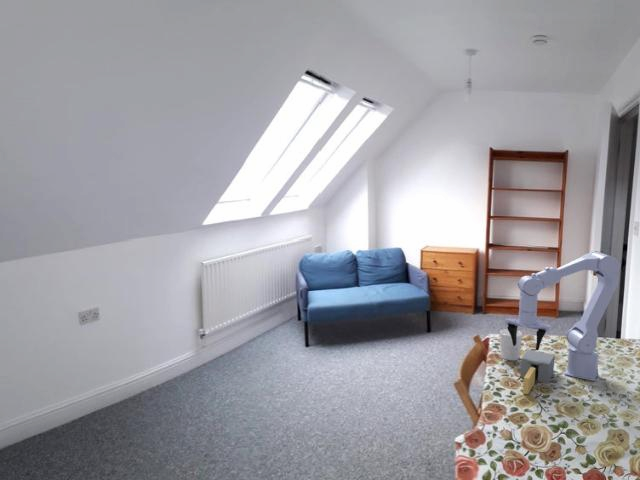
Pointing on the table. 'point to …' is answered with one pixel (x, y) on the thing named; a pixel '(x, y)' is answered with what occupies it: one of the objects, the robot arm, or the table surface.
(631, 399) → the table surface
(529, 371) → the yellow rectangular block
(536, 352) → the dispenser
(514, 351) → the white cup
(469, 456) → the table surface
